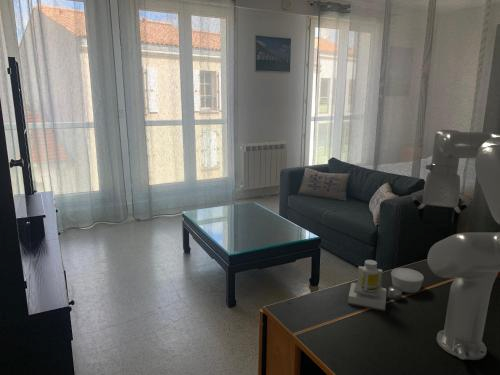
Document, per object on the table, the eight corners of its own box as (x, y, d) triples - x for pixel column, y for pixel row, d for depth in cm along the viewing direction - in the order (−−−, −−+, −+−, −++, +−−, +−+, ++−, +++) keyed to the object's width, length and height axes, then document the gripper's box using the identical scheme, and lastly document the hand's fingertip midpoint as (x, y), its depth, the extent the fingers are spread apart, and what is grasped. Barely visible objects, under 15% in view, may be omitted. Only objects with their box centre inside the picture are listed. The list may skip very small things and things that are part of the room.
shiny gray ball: (401, 301, 132) (402, 293, 131) (387, 298, 134) (388, 291, 133) (400, 294, 136) (401, 287, 135) (388, 292, 138) (388, 285, 137)
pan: (380, 300, 126) (381, 295, 126) (353, 295, 129) (354, 290, 129) (381, 290, 132) (381, 286, 132) (355, 286, 135) (356, 281, 135)
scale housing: (385, 311, 126) (388, 283, 123) (347, 303, 130) (349, 277, 127) (385, 296, 135) (388, 270, 132) (350, 289, 139) (352, 264, 137)
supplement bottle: (379, 288, 130) (382, 262, 128) (372, 294, 126) (375, 267, 124) (365, 282, 134) (367, 257, 132) (357, 288, 130) (359, 262, 128)
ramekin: (383, 283, 144) (384, 271, 143) (404, 277, 149) (405, 265, 148) (407, 297, 134) (409, 284, 133) (428, 290, 139) (430, 277, 138)
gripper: (414, 169, 117) (408, 221, 122) (477, 174, 112) (469, 228, 116) (413, 165, 124) (407, 215, 128) (473, 169, 118) (465, 221, 123)
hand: (436, 221), depth 122 cm, fingers open, 9 cm apart
